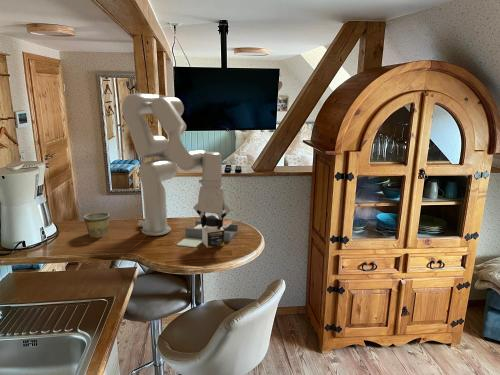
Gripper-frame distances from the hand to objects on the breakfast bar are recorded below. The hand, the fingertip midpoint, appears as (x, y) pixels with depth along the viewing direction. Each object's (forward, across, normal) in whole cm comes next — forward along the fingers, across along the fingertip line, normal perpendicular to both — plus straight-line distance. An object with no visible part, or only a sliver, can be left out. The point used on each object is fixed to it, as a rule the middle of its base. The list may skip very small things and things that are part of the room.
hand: (211, 226), depth 149 cm
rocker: (+4, -4, +11) cm, 12 cm away
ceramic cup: (+9, -49, -5) cm, 50 cm away
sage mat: (+8, -9, -1) cm, 12 cm away
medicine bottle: (+8, 0, +1) cm, 8 cm away
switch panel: (+8, -4, +11) cm, 14 cm away
